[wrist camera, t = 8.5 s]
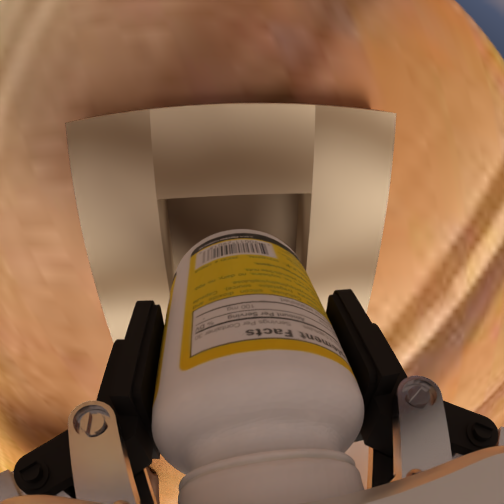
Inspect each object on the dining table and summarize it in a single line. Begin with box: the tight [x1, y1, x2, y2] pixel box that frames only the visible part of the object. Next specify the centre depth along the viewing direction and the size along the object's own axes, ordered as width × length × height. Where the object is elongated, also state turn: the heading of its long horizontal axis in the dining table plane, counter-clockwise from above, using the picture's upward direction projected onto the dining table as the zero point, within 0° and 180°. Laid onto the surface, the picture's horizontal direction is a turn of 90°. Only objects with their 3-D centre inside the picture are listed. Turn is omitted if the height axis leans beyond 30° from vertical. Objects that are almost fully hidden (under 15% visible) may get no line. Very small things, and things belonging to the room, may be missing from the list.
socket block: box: [65, 103, 396, 342], centre depth 16 cm, size 14×14×2 cm
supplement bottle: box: [152, 229, 364, 504], centre depth 9 cm, size 5×5×10 cm
